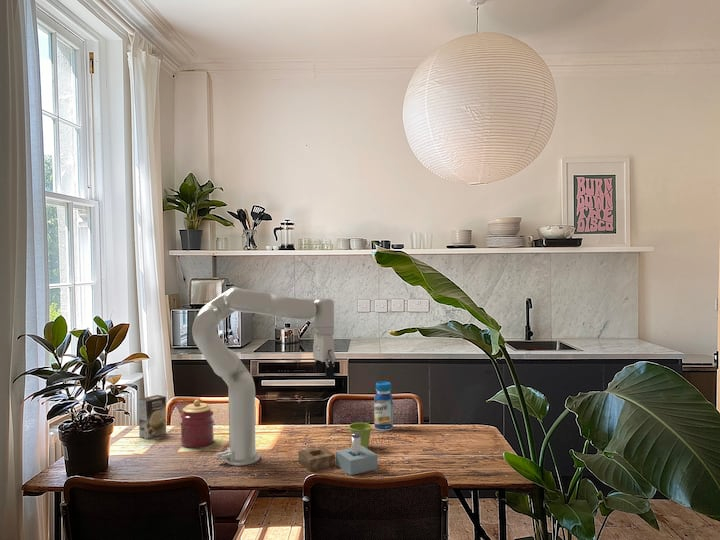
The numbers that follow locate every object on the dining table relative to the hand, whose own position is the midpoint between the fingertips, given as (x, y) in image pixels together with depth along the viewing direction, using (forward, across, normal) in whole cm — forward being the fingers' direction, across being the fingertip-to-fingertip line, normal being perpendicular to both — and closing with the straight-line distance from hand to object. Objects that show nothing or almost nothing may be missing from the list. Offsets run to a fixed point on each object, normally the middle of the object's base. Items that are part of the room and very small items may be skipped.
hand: (324, 374), depth 209 cm
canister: (+31, -36, -40) cm, 62 cm away
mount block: (+30, +10, -8) cm, 32 cm away
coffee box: (+31, -56, -55) cm, 84 cm away
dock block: (+30, +19, +4) cm, 36 cm away
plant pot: (+30, +3, +14) cm, 33 cm away
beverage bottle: (+30, -13, +35) cm, 48 cm away
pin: (+30, +19, +4) cm, 36 cm away
